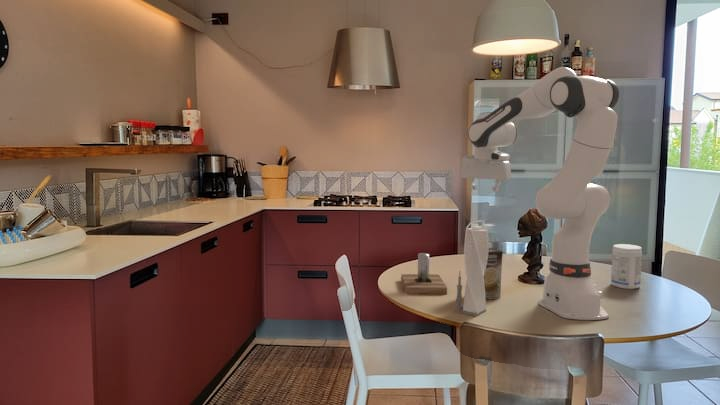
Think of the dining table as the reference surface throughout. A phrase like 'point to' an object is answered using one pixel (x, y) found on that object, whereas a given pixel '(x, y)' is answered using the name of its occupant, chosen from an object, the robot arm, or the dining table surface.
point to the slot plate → (423, 284)
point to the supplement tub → (626, 266)
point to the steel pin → (423, 268)
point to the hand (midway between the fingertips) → (484, 190)
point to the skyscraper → (474, 271)
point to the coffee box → (493, 274)
